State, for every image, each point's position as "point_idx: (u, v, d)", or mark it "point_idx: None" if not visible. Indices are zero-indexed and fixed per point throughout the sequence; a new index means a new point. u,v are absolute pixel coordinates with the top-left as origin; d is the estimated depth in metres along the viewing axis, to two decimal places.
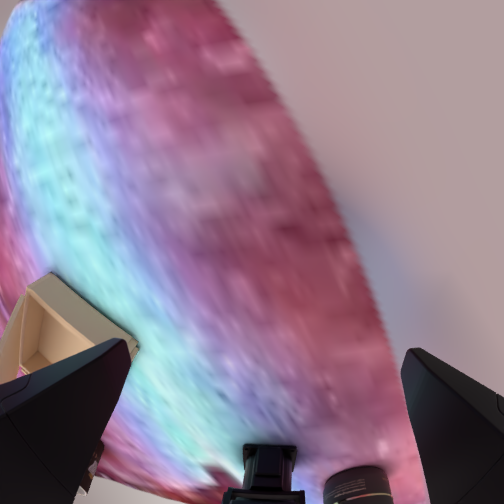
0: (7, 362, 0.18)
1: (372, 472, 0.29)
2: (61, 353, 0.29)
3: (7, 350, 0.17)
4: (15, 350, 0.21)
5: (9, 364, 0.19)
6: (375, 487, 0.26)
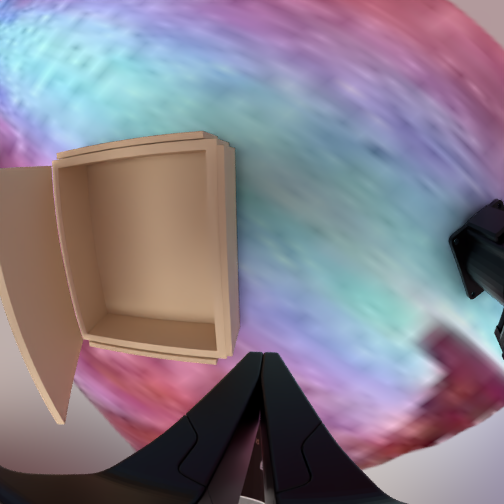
0: (28, 243, 0.12)
1: None
2: (137, 277, 0.22)
3: (23, 207, 0.11)
4: (53, 265, 0.16)
5: (38, 265, 0.13)
6: None
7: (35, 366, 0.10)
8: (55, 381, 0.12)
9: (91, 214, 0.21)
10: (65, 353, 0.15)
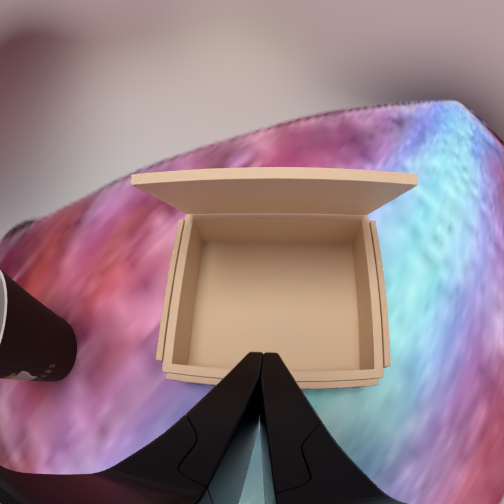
0: (324, 197, 0.15)
1: None
2: (241, 284, 0.24)
3: (357, 198, 0.15)
4: (282, 207, 0.19)
5: (296, 199, 0.16)
6: None
7: (215, 179, 0.13)
8: (180, 189, 0.14)
9: (306, 244, 0.25)
10: (194, 201, 0.17)
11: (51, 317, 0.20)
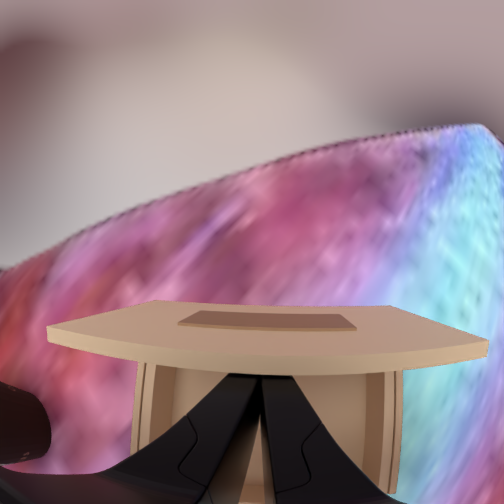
0: None
1: None
2: None
3: None
4: None
5: None
6: None
7: (162, 364, 0.07)
8: None
9: None
10: None
11: (18, 405, 0.14)
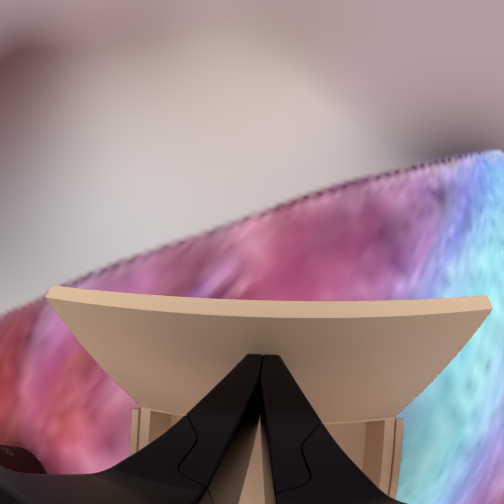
0: (345, 379, 0.09)
1: None
2: None
3: (395, 376, 0.09)
4: None
5: None
6: None
7: (161, 313, 0.07)
8: (112, 334, 0.08)
9: None
10: (141, 375, 0.10)
11: (18, 471, 0.11)
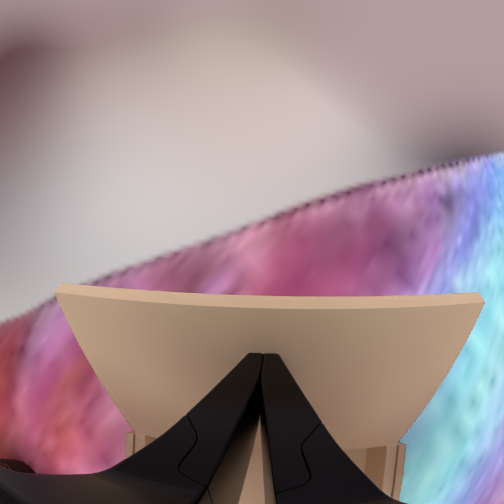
0: (345, 389, 0.09)
1: None
2: None
3: (396, 386, 0.08)
4: None
5: None
6: None
7: (167, 305, 0.07)
8: (116, 335, 0.08)
9: None
10: (139, 388, 0.10)
11: None
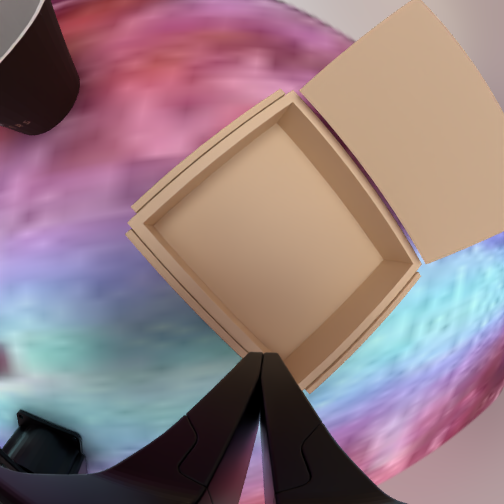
0: (473, 177, 0.12)
1: None
2: (271, 195, 0.19)
3: (485, 205, 0.12)
4: (406, 168, 0.14)
5: (449, 160, 0.12)
6: None
7: (471, 63, 0.09)
8: (425, 40, 0.09)
9: (354, 220, 0.20)
10: (382, 68, 0.12)
11: (64, 71, 0.13)
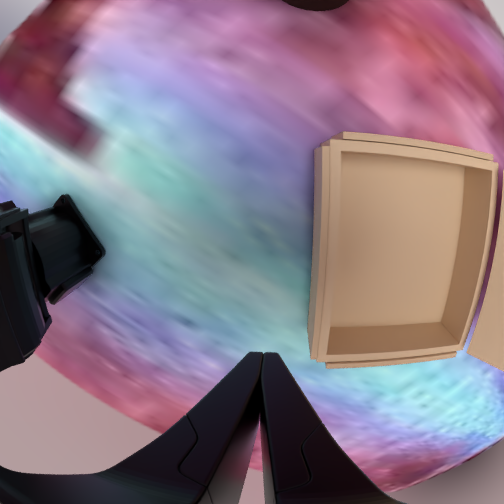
0: None
1: None
2: (422, 211, 0.18)
3: None
4: None
5: None
6: None
7: None
8: None
9: (450, 278, 0.20)
10: None
11: None
